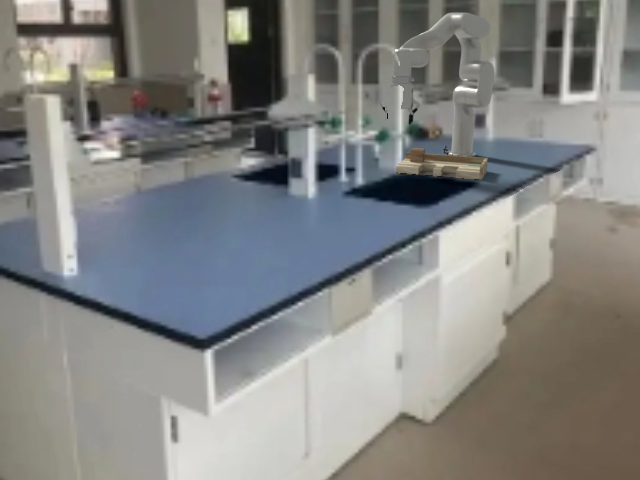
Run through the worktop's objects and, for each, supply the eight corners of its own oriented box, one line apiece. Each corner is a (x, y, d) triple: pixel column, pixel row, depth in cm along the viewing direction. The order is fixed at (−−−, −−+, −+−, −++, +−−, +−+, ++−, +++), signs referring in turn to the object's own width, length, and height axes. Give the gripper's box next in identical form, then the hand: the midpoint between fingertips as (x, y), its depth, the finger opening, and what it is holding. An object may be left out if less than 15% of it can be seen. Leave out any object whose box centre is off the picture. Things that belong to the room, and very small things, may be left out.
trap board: (405, 165, 299) (406, 152, 298) (486, 171, 289) (487, 158, 287) (395, 173, 283) (396, 159, 281) (481, 180, 272) (482, 166, 271)
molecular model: (476, 166, 299) (477, 146, 296) (440, 164, 301) (441, 145, 299) (476, 163, 305) (477, 144, 302) (441, 162, 307) (442, 143, 305)
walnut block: (412, 159, 295) (413, 147, 293) (424, 160, 293) (425, 148, 292) (410, 161, 290) (410, 149, 289) (422, 162, 289) (422, 150, 287)
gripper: (424, 80, 286) (421, 123, 291) (382, 79, 291) (381, 121, 296) (420, 82, 279) (418, 125, 284) (378, 80, 284) (376, 123, 289)
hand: (399, 123), depth 290 cm, fingers open, 8 cm apart
